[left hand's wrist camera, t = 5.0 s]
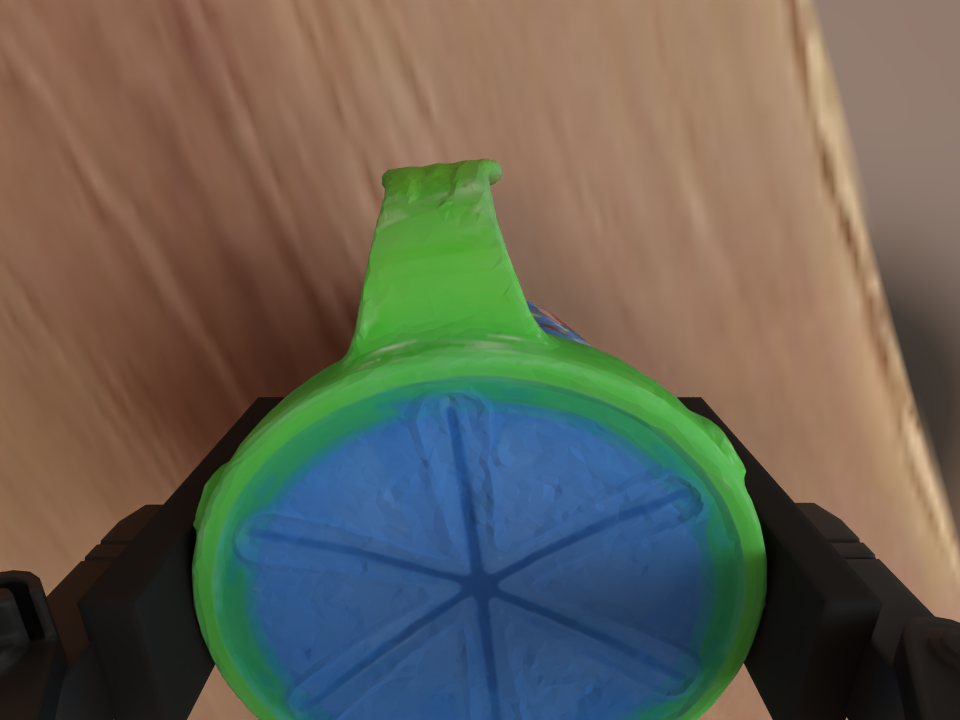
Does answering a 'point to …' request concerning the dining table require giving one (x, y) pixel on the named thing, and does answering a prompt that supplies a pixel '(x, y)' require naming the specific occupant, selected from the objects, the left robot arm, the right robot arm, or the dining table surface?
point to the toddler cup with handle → (475, 509)
